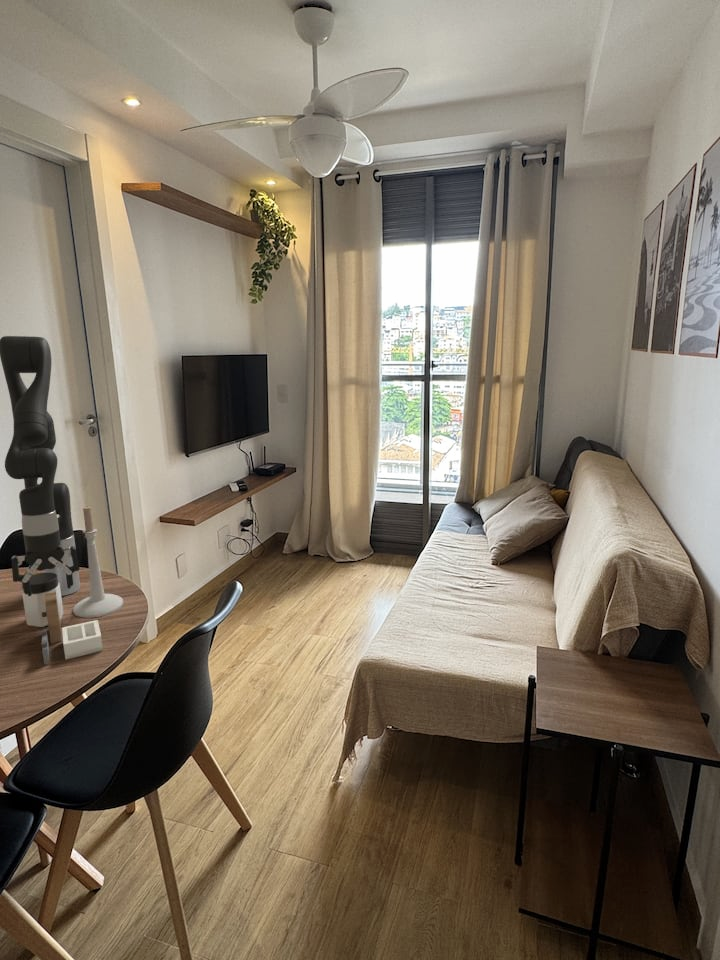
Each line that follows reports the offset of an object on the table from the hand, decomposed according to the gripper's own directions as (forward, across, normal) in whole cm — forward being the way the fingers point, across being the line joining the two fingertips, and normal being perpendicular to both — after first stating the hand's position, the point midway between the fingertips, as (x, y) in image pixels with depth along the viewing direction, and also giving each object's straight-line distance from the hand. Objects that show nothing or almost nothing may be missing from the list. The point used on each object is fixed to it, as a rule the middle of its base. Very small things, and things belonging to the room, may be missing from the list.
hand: (49, 591), depth 133 cm
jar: (+12, +2, -11) cm, 17 cm away
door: (+12, 0, 0) cm, 12 cm away
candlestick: (+12, -11, -12) cm, 20 cm away
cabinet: (+12, -3, +9) cm, 16 cm away
